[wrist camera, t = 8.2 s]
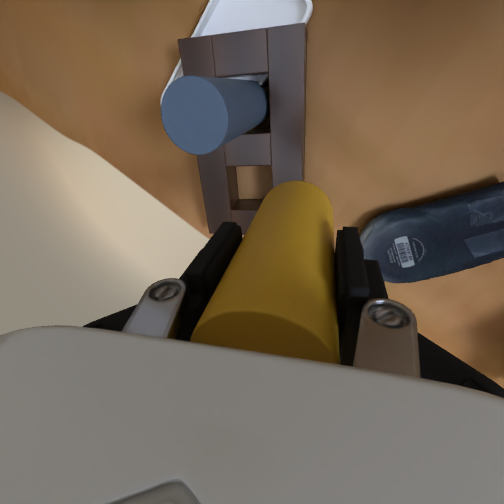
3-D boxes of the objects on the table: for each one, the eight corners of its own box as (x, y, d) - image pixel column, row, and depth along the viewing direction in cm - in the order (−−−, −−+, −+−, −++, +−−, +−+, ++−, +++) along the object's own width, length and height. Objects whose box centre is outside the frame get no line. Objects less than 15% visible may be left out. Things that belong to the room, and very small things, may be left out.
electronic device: (494, 160, 27) (344, 222, 31) (542, 179, 23) (359, 248, 27) (498, 233, 32) (366, 279, 36) (539, 262, 27) (382, 310, 31)
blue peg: (270, 78, 27) (223, 71, 14) (272, 124, 29) (232, 154, 16) (230, 82, 27) (152, 78, 15) (234, 126, 29) (168, 156, 17)
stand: (307, 30, 24) (305, 22, 21) (303, 223, 33) (301, 236, 30) (193, 44, 27) (177, 39, 24) (218, 221, 36) (209, 233, 33)
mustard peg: (336, 180, 14) (349, 321, 6) (329, 248, 16) (332, 424, 8) (259, 180, 15) (175, 301, 7) (262, 244, 17) (200, 399, 9)
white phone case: (217, 150, 31) (316, 10, 23) (213, 153, 30) (315, 5, 22) (163, 102, 30) (249, -64, 22) (157, 103, 28) (245, -72, 21)
